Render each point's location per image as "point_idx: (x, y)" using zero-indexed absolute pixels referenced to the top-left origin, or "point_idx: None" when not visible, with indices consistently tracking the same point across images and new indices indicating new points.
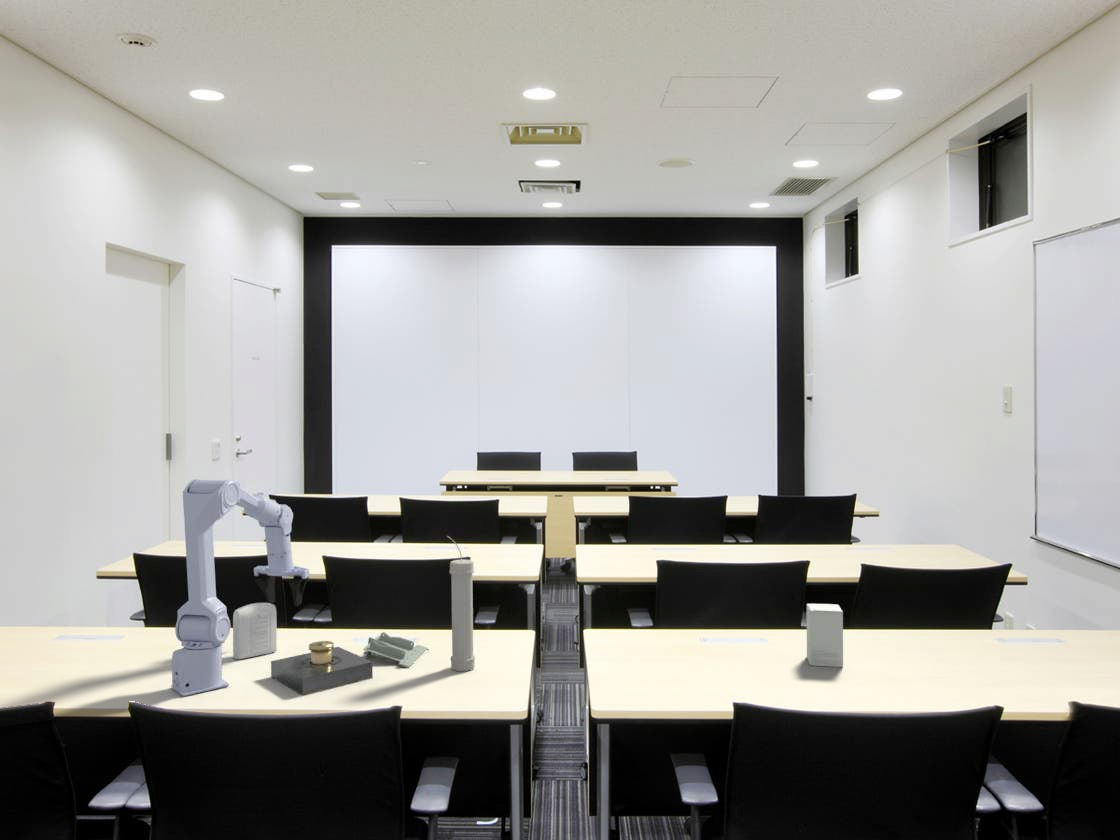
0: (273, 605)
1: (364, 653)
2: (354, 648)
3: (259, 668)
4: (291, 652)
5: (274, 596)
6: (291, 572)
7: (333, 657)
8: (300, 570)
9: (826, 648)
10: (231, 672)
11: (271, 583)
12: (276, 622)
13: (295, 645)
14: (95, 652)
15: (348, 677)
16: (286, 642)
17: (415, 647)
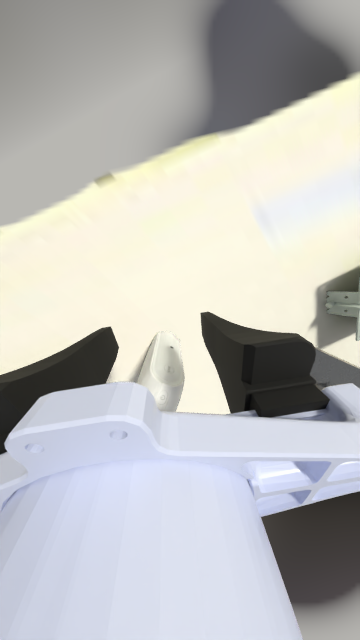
0: (175, 391)
1: (327, 306)
2: (287, 272)
3: (208, 392)
4: (200, 329)
5: (103, 334)
6: (283, 502)
7: (327, 386)
8: (346, 472)
9: None
10: (187, 412)
11: (75, 381)
12: (182, 364)
13: (180, 297)
14: None
15: None
16: (152, 288)
17: None
